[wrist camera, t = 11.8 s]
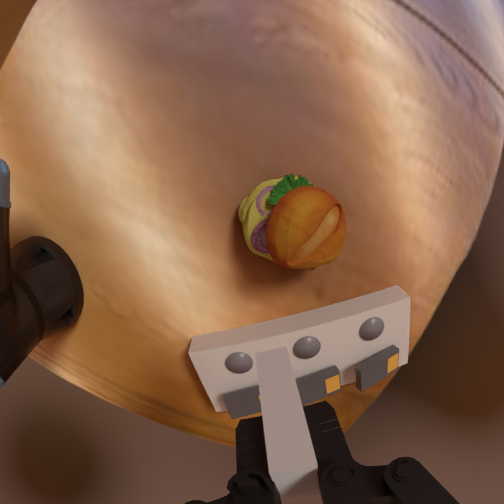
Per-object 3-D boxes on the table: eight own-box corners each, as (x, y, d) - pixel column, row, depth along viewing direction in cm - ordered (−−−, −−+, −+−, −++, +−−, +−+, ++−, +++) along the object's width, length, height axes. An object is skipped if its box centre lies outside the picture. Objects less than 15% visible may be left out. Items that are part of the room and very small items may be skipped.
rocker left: (231, 412, 38) (232, 419, 36) (222, 394, 37) (223, 401, 35) (276, 400, 38) (279, 407, 37) (271, 381, 37) (273, 388, 36)
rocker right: (355, 386, 36) (361, 392, 35) (355, 366, 35) (361, 372, 34) (392, 364, 38) (398, 369, 36) (393, 344, 37) (399, 349, 35)
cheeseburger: (246, 162, 33) (276, 167, 24) (325, 182, 36) (372, 195, 27) (227, 245, 36) (249, 279, 27) (305, 256, 39) (344, 288, 30)
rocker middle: (293, 401, 37) (296, 408, 36) (288, 382, 36) (292, 389, 35) (337, 384, 38) (341, 390, 37) (335, 364, 37) (339, 371, 35)
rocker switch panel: (218, 394, 43) (216, 413, 39) (192, 336, 40) (188, 354, 36) (397, 348, 42) (407, 363, 38) (397, 285, 38) (410, 297, 34)
